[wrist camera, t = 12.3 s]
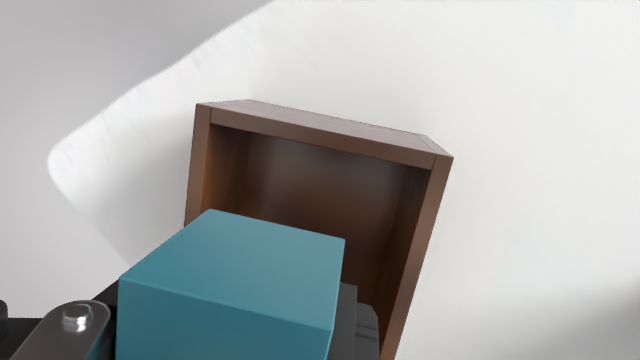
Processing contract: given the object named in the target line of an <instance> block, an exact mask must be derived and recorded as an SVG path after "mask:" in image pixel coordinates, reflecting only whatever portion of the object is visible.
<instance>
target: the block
mask: <svg viewBox="0 0 640 360" xmlns="http://www.w3.org/2000/svg"><path fill="white" fill-rule="evenodd" d="M344 246H345V239H342V238H338V237H333V236H329V235H324V234H320V233H316V232H311V231H307V230H302V229H298V228H293V227H289V226H285V225H280V224H276V223H271V222H267V221H263V220H258V219H254V218H249V217H245V216H240V215H236V214H232V213H227V212H223V211H218V210H214V209H208V210H207V211H205V212H204V213H203V214H201V215H200V216H199V217H197V218H196V219H195V220H194V221H192V222H191V223H190V224H188V225H187V226H186V227H184V228H183V229H182V230H180V231H179V232H178V233H176V234H175V235H174V236H172V237H171V238H170V239H169V240H167V241H166V242H165V243H163V244H162V245H161V246H159V247H158V248H157V249H155V250H154V251H153V252H151V253H150V254H149V255H147V256H146V257H145V258H144V259H142V260H141V261H140V262H138V263H137V264H136V265H134V266H133V267H132V268H130V269H129V270H128V271H127V272H125V273H124V274H122V275H121V276H120V277H119V282H118V302H117V323H116V344H115V360H327V355H328V351H329V347H330V342H331V338H332V334H333V329H334V321H335V314H336V306H337V299H338V291H339V284H340V276H341V269H342V261H343V254H344Z"/></svg>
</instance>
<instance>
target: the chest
mask: <svg viewBox="0 0 640 360" xmlns="http://www.w3.org/2000/svg"><path fill="white" fill-rule="evenodd" d="M453 159H454V157H453V156H451V155H450V154H449V153H448V152H446V151H445V150H444V149H442V148H441V147H440V146H439V145H437V144H436V143H435V142H433V141H432V140H431V139H430V138H428V137H427V136H424V135H420V134H415V133H410V132H405V131H400V130H395V129H390V128H385V127H381V126H376V125H371V124H366V123H361V122H356V121H351V120H346V119H342V118H337V117H332V116H327V115H322V114H317V113H312V112H307V111H303V110H298V109H293V108H288V107H283V106H278V105H273V104H268V103H264V102H259V101H254V100H235V101H223V102H210V103H198V104H196V109H195V119H194V129H193V139H192V149H191V160H190V170H189V180H188V190H187V200H186V210H185V220H184V227H186V226H187V225H188V224H190V223H191V222H192V221H194V220H195V219H196V218H197V217H199V216H200V215H201V214H203V213H204V212H205V211H207V210H208V209H214V210H218V211H223V212H227V213H232V214H236V215H240V216H245V217H249V218H254V219H258V220H263V221H267V222H271V223H276V224H280V225H285V226H289V227H293V228H298V229H302V230H307V231H311V232H316V233H320V234H324V235H329V236H333V237H338V238H342V239H345V246H344V254H343V261H342V269H341V276H340V282H343V283H347V284H351V285H356V286H357V302H359V303H363V304H367V305H371V307H372V308H373V310H374V312H375V313H376V315H377V317H378V333H379V340H378V341H379V353H380V360H394V359H395V356H396V352H397V349H398V346H399V342H400V339H401V335H402V332H403V329H404V325H405V322H406V318H407V315H408V312H409V308H410V305H411V301H412V298H413V295H414V291H415V288H416V284H417V281H418V278H419V274H420V271H421V267H422V264H423V261H424V257H425V254H426V250H427V247H428V244H429V240H430V237H431V233H432V230H433V227H434V223H435V220H436V216H437V213H438V210H439V206H440V203H441V199H442V196H443V193H444V189H445V186H446V182H447V179H448V176H449V172H450V169H451V165H452V162H453Z"/></svg>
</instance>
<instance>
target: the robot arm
mask: <svg viewBox="0 0 640 360" xmlns="http://www.w3.org/2000/svg"><path fill="white" fill-rule="evenodd" d="M118 282H119V279H118V280H117V281H115V282H114V283H113V284H111V285H110V286H109V287H107V288H106V289H105V290H104V291H103V292H101V293H100V294H98V295H97V296H96V297H94V298H93V299H92V300H80V301H73V302H69V303H66V304H63V305H61V306H58V307H56V308H54V309H53V310H51V311H50V312H49V313H47V315H46V316H45V317H44V318H8V312H7V311H8V309H7V305H6V303H5V302H4V301H2V300H0V360H115V344H116V323H117V302H118ZM378 340H379V333H378V317H377V315H376V313H375V312H374V310H373V308H372V307H371V305H367V304H363V303H359V302H357V286H356V285H351V284H347V283H343V282H340V284H339V291H338V299H337V306H336V314H335V321H334V329H333V334H332V338H331V342H330V347H329V351H328V355H327V360H380V353H379V341H378Z"/></svg>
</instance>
